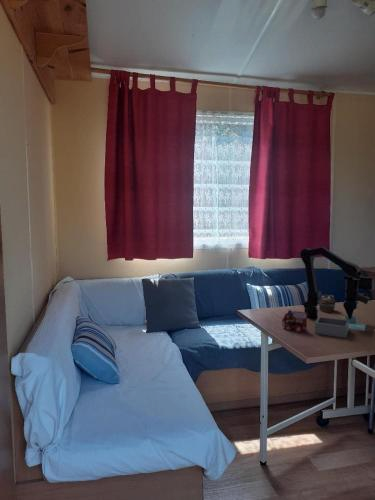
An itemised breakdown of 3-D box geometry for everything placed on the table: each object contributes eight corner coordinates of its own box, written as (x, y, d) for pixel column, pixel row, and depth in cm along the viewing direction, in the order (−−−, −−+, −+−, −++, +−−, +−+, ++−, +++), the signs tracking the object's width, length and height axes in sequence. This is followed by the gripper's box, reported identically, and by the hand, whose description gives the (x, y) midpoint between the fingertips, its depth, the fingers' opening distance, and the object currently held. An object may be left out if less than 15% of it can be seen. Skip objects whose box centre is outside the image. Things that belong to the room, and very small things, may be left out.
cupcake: (336, 309, 219) (336, 293, 218) (333, 313, 211) (334, 296, 210) (320, 307, 224) (320, 292, 223) (316, 311, 216) (317, 295, 215)
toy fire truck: (284, 327, 185) (285, 307, 184) (309, 331, 178) (309, 310, 177) (280, 330, 179) (280, 310, 178) (305, 334, 173) (305, 314, 172)
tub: (314, 334, 172) (315, 322, 172) (318, 328, 183) (318, 316, 182) (346, 339, 166) (346, 326, 165) (348, 332, 176) (348, 320, 176)
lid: (333, 329, 182) (333, 319, 182) (336, 322, 193) (336, 313, 193) (364, 333, 175) (365, 323, 175) (365, 326, 186) (366, 317, 186)
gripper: (368, 293, 175) (366, 324, 176) (369, 286, 191) (368, 314, 192) (343, 291, 180) (342, 321, 181) (346, 284, 196) (345, 312, 198)
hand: (350, 317), depth 188 cm, fingers open, 7 cm apart
